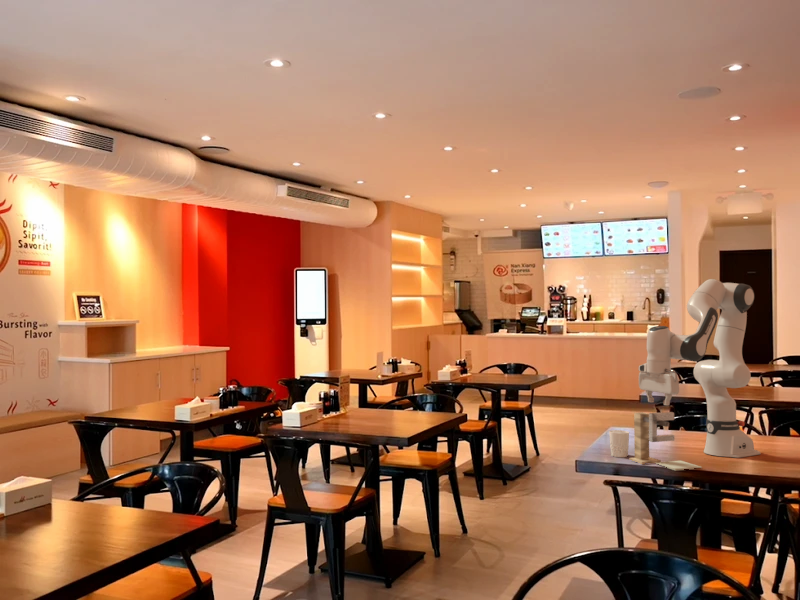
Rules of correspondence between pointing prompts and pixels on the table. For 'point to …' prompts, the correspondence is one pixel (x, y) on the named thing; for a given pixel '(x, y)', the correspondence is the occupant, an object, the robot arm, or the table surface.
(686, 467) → the mat
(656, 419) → the c link
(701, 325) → the robot arm
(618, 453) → the white cup
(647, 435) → the stand
